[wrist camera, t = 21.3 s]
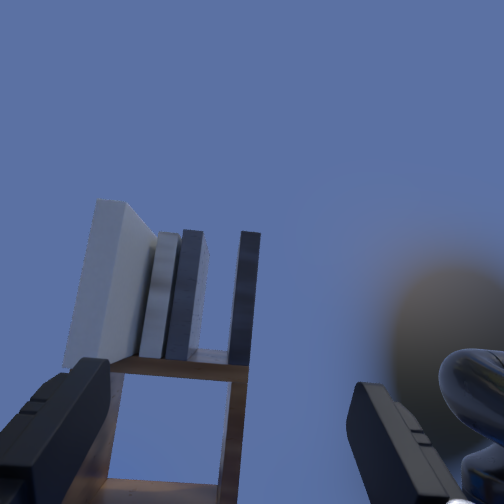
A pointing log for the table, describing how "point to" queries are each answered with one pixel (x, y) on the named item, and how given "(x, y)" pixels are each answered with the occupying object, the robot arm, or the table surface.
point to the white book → (112, 286)
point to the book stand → (180, 370)
